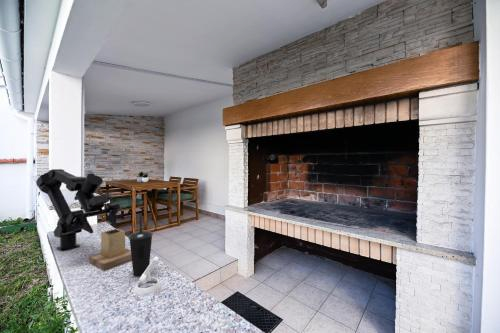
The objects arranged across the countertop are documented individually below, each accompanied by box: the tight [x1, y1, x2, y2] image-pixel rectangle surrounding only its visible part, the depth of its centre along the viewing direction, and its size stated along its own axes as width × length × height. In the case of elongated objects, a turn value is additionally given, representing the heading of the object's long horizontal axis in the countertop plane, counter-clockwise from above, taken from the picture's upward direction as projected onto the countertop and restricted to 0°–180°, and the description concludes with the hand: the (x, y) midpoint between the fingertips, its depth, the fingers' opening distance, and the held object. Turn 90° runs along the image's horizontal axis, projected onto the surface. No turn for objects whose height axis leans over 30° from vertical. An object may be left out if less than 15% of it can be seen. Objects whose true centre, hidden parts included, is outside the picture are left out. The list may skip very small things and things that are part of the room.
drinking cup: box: [128, 215, 154, 278], centre depth 75 cm, size 8×8×20 cm
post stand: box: [88, 247, 132, 272], centre depth 86 cm, size 12×12×6 cm
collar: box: [100, 228, 126, 259], centre depth 86 cm, size 6×6×9 cm
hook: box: [133, 255, 162, 296], centre depth 66 cm, size 8×12×7 cm
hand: (104, 229), depth 88 cm, fingers open, 9 cm apart
